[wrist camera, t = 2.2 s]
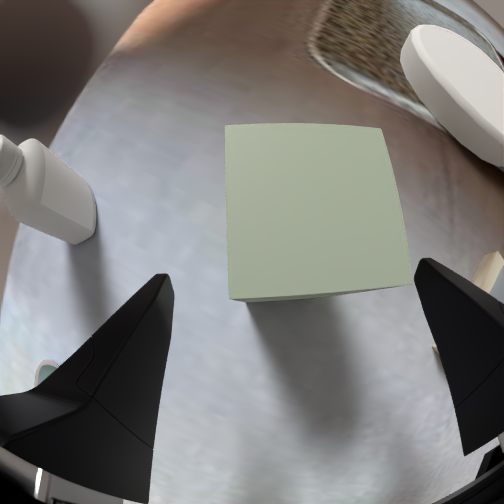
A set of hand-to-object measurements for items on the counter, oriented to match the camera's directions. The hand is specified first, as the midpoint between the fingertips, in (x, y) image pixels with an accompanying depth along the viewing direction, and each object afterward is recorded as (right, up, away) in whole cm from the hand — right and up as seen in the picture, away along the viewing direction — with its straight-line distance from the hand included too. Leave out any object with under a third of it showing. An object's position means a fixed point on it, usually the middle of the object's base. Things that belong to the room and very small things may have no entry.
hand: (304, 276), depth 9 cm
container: (+25, +20, +13) cm, 34 cm away
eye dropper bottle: (-16, +4, +10) cm, 19 cm away
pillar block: (0, 0, +9) cm, 9 cm away
